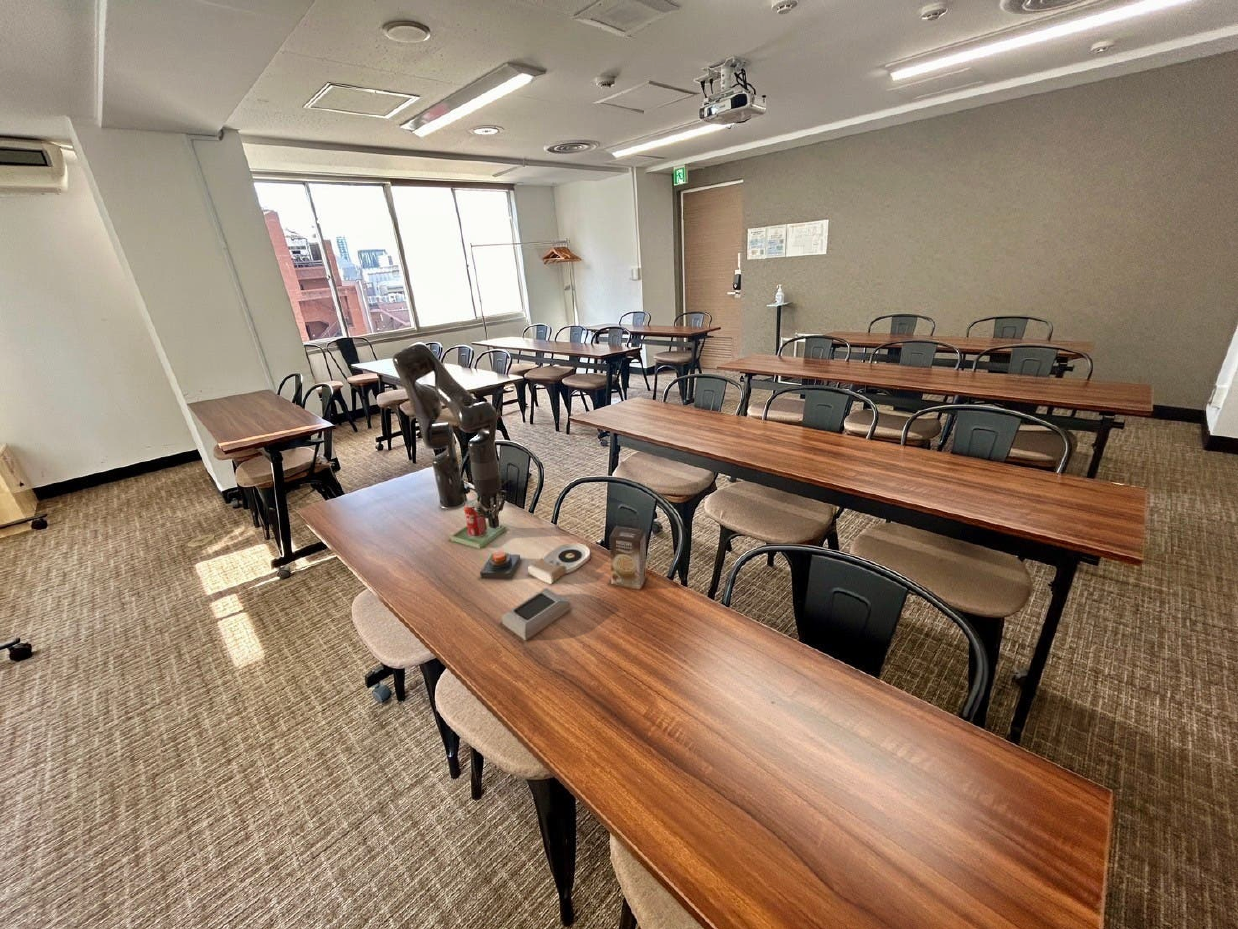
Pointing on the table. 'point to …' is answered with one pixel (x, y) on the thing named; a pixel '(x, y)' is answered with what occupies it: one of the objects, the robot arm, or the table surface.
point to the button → (499, 557)
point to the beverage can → (475, 521)
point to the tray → (478, 542)
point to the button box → (500, 567)
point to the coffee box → (628, 556)
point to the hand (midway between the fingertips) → (494, 527)
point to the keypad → (535, 613)
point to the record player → (560, 562)
